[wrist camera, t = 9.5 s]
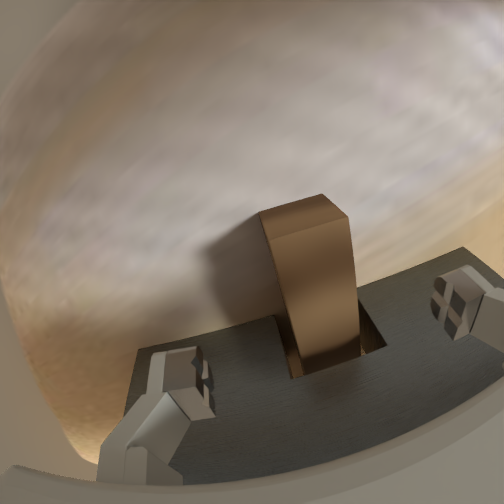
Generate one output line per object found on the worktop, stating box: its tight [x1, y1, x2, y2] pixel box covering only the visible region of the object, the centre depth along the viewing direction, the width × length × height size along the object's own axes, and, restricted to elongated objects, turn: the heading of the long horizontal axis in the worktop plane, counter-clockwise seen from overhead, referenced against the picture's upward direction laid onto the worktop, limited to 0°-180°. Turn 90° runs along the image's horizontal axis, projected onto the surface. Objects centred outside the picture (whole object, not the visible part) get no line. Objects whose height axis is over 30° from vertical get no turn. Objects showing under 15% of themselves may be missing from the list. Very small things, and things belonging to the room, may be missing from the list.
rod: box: [258, 194, 361, 375], centre depth 20 cm, size 20×4×4 cm, turn 16°
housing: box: [123, 247, 504, 485], centre depth 16 cm, size 6×29×13 cm, turn 106°
